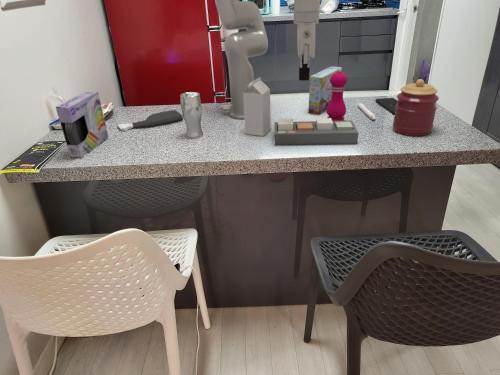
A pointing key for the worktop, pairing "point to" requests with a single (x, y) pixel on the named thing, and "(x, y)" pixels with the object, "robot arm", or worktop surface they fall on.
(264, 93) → the milk carton
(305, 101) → the worktop surface
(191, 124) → the beer glass
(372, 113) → the marker
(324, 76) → the snack box
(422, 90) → the canister
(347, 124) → the key sage
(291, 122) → the key white left
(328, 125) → the key white mid
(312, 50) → the robot arm
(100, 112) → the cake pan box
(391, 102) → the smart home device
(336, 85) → the pepper mill
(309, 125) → the key terracotta
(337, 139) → the keypad
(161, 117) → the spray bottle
